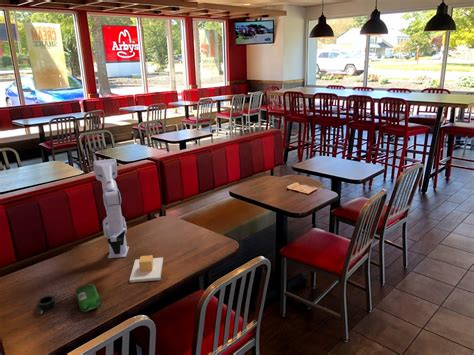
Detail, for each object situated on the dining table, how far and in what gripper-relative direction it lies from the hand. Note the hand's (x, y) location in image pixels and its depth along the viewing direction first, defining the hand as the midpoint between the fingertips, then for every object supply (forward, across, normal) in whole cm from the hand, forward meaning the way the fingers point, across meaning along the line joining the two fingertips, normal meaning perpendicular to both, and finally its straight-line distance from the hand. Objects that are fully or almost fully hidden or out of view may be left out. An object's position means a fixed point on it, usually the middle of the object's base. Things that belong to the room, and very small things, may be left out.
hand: (119, 249), depth 160 cm
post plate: (+9, -3, -11) cm, 15 cm away
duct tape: (+10, -22, +23) cm, 33 cm away
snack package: (+10, -23, +8) cm, 26 cm away
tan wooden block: (+8, -3, -11) cm, 14 cm away
